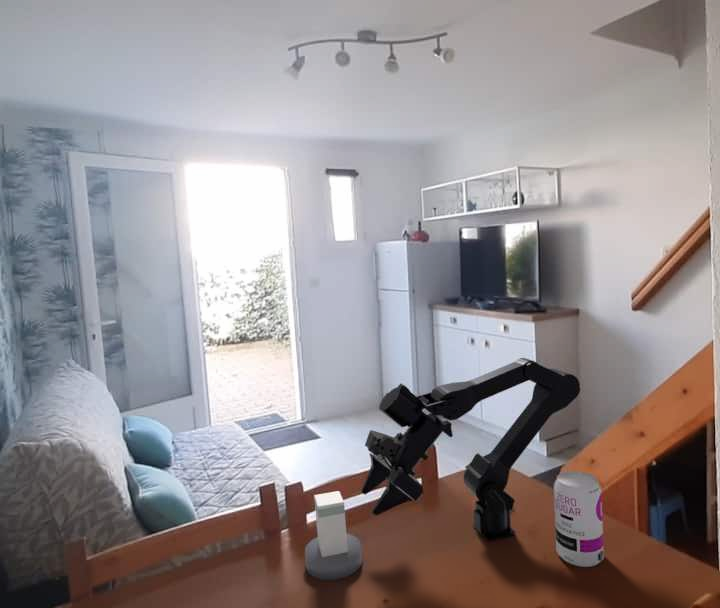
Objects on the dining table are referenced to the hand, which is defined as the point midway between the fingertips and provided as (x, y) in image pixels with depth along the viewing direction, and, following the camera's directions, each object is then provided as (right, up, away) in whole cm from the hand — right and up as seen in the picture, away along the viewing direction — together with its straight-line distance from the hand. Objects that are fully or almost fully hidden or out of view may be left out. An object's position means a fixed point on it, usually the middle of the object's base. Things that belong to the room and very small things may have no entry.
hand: (368, 503), depth 101 cm
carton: (-7, -8, -1) cm, 11 cm away
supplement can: (+40, -8, -4) cm, 41 cm away
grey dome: (-7, -11, -1) cm, 13 cm away
